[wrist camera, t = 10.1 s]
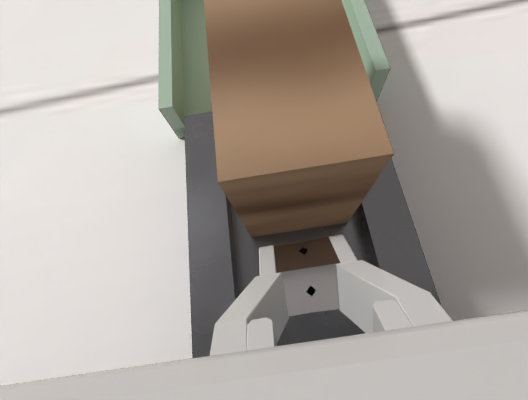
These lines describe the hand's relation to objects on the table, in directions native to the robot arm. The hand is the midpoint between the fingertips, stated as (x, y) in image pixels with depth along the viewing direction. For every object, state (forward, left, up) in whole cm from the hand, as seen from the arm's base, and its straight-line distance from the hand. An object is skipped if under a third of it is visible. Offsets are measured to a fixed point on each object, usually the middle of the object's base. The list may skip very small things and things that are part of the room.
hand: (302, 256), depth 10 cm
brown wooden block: (-1, +7, -4) cm, 8 cm away
